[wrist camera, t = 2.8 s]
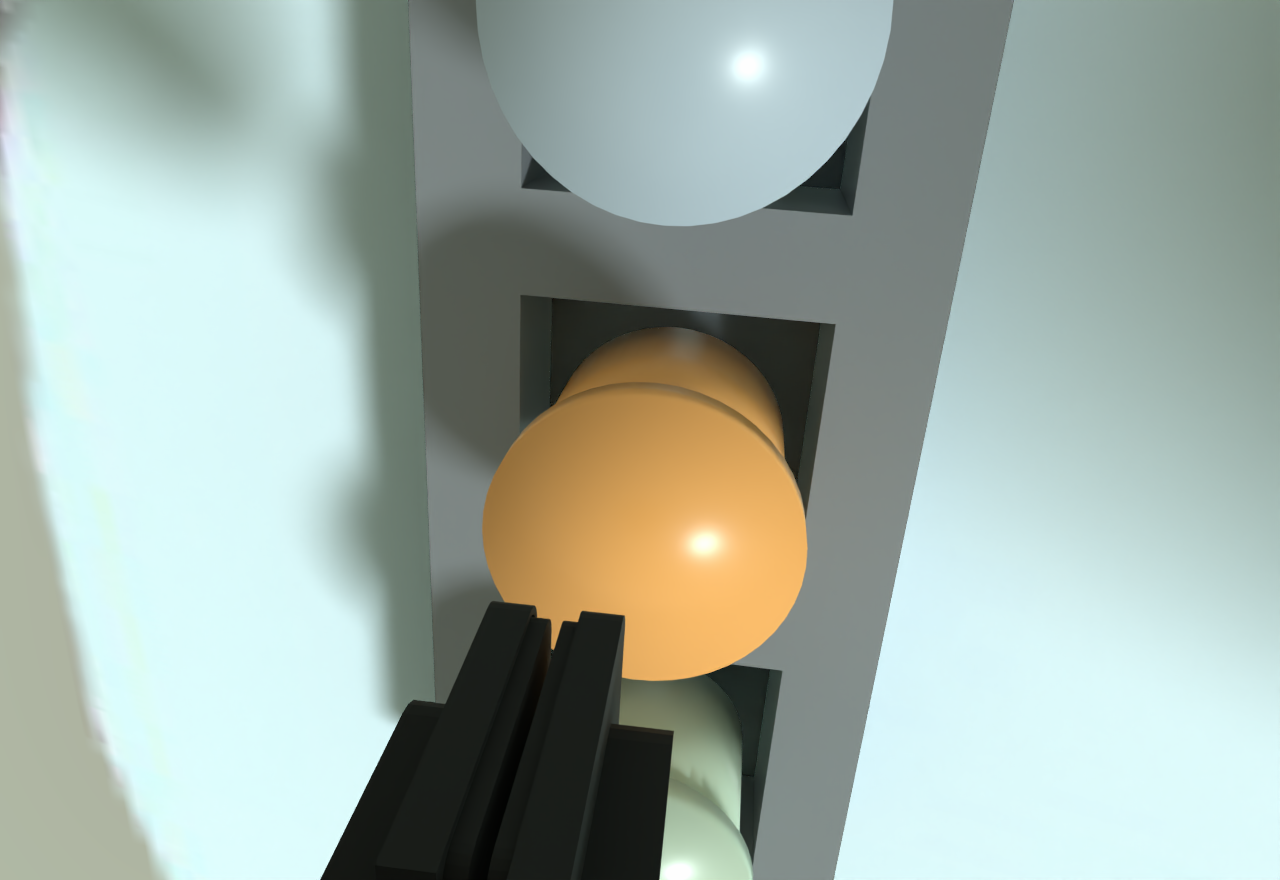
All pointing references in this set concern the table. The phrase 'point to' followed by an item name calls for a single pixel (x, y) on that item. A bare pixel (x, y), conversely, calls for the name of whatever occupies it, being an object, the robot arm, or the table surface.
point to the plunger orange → (654, 504)
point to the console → (728, 284)
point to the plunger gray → (682, 95)
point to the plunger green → (696, 775)
